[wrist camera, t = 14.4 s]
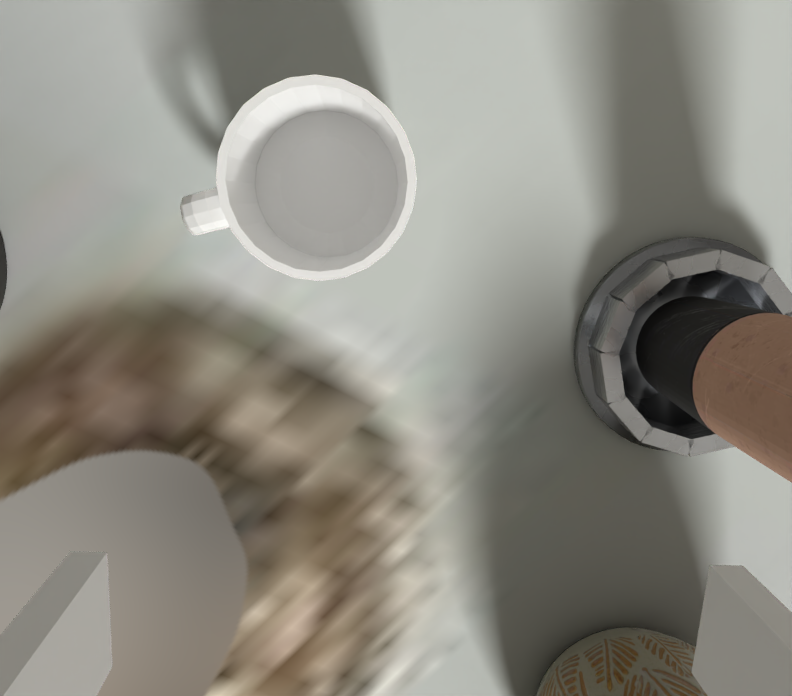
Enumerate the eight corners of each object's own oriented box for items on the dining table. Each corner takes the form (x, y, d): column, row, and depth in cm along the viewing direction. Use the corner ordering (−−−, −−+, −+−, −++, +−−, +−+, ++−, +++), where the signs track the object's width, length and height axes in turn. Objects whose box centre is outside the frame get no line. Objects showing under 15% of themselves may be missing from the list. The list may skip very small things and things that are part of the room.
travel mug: (635, 291, 45) (849, 362, 25) (746, 291, 45) (1041, 361, 25) (626, 400, 46) (819, 546, 27) (733, 399, 47) (999, 542, 27)
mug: (382, 86, 42) (388, 50, 32) (420, 241, 44) (437, 252, 34) (191, 137, 42) (137, 118, 32) (238, 289, 44) (202, 315, 34)
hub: (530, 339, 46) (544, 350, 43) (702, 190, 44) (730, 189, 41) (658, 485, 49) (681, 506, 45) (823, 351, 47) (859, 362, 44)
